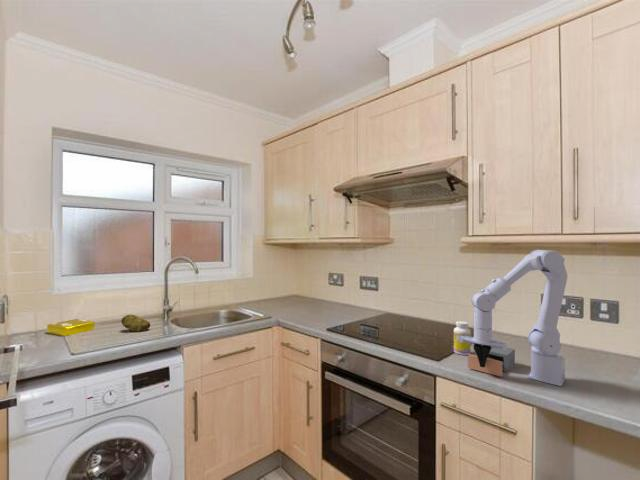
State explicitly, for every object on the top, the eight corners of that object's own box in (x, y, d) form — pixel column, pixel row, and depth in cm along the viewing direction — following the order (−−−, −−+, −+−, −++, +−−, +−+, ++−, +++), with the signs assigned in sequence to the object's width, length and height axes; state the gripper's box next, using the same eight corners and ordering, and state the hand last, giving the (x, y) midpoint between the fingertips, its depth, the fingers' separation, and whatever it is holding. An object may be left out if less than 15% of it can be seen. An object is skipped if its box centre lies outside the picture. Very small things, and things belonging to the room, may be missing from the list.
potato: (140, 333, 162) (141, 317, 162) (118, 331, 165) (118, 315, 165) (152, 329, 170) (152, 313, 171) (130, 327, 173) (130, 312, 173)
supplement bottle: (456, 349, 143) (456, 319, 143) (472, 352, 139) (472, 322, 139) (451, 353, 138) (451, 322, 138) (468, 356, 134) (468, 325, 134)
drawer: (509, 368, 120) (509, 355, 120) (501, 376, 113) (501, 362, 113) (477, 361, 128) (477, 348, 128) (468, 367, 121) (468, 354, 121)
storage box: (514, 364, 125) (514, 349, 125) (507, 371, 118) (507, 355, 118) (483, 357, 133) (484, 342, 133) (475, 363, 126) (475, 348, 126)
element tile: (96, 329, 170) (96, 320, 170) (64, 337, 156) (64, 327, 156) (77, 326, 175) (77, 317, 175) (45, 333, 161) (45, 323, 161)
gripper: (508, 328, 114) (508, 368, 114) (464, 322, 123) (463, 358, 123) (504, 332, 109) (504, 374, 109) (458, 325, 118) (458, 363, 118)
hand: (482, 366), depth 116 cm, fingers closed
